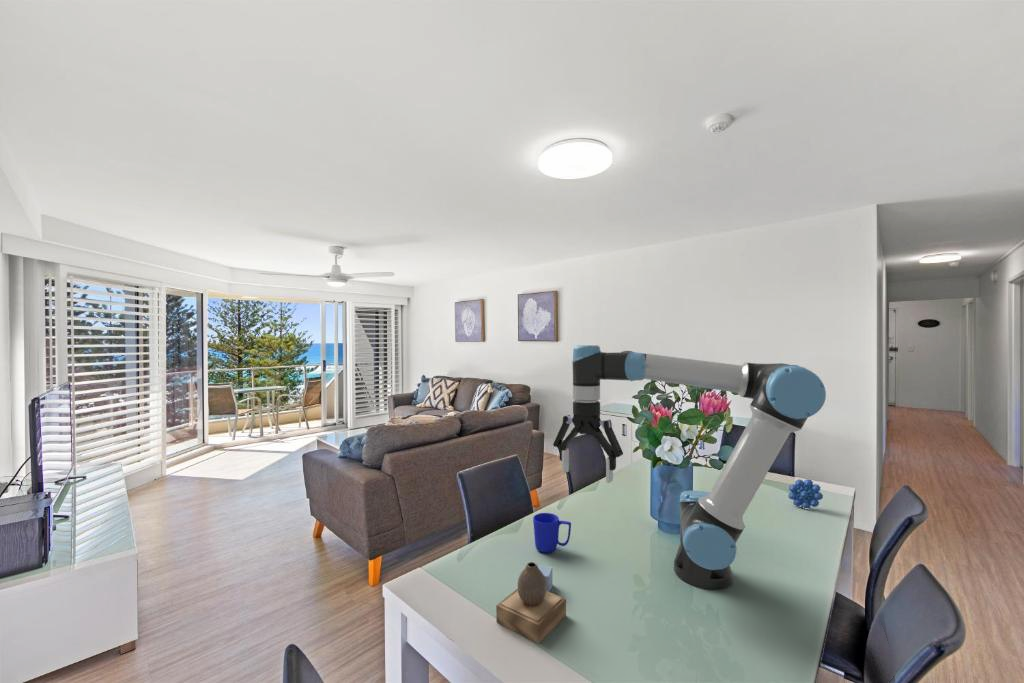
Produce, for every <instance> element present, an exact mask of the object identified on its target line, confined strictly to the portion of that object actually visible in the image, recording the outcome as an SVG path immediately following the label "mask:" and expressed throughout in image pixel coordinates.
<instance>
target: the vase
mask: <svg viewBox="0 0 1024 683" xmlns="http://www.w3.org/2000/svg"><path fill="white" fill-rule="evenodd" d="M537 565H538V564H537V563H536V562H533V561H530V562H528V563H526V565H525V567H524V569H523V570H522V571H521V573H520V574H519V577H518V579H517V589H518V594H519V596H520V599H521V600H522V601H523V602H524V603H525V604H526V605H529V606H536V605H538V604H539V603H541V602H542V600H543V599H544V597H545V594H546V580H545V577H544V575H543V573H542V572H541V571H540V569H539V568H538V566H537Z"/></svg>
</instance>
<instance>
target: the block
mask: <svg viewBox="0 0 1024 683" xmlns="http://www.w3.org/2000/svg"><path fill="white" fill-rule="evenodd" d="M537 566H538V568H539V569H540V571H541V572H542V573H543V575H544V577H545V580H546V591H548V592H550V593H551V590H552V587H553V585H554V584H553V566H549V565H548V566H547V565H543V564H542V565H540V564H537Z"/></svg>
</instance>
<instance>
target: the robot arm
mask: <svg viewBox="0 0 1024 683" xmlns="http://www.w3.org/2000/svg"><path fill="white" fill-rule="evenodd" d="M572 351H573V352H572V361H571V363H572V399H573V402H572V415H573V416H571V415H570V414H568V415H564V416H563V417H562V424H561V426H560V428H559V429H558V430H559V431H558V433H557V434H556V436H555V439H554V441H553V447H555V448H558V450H559V452H558V453H559V460H560V461H561V474H566V473H567V474H568V473H569V472H570V450H569V448H568V446H569V445H570V444H571V443H572V441H573V440H574V439H575V438H576V436H578V435H579V434H580V435H587V436H591V435H592V436H593V437H594V438H595V439H596V440H597V442H598V443H599V445H600V446H601V449H603V451H604V452H605V454H607V455H606V456H608V457H606V458H605V480H606V481H605V482H606V484H610V483H612V482H613V481H614V471H615V470H616V468H617V458H619V457H621V456H623V455H624V452H623V449H622V447H621V445H620V443H619V441H618V438H617V436H616V434H615V432H614V430H613V424H612V420H611V419H606V420H601V403H600V399H601V380H603V381H605V380H606V381H607V380H610V381H611V380H612V381H629V382H633V381H643V380H649V381H656V382H663V383H668V384H669V383H670V384H676V385H682V386H688V387H689V386H690V387H695V388H696V387H697V388H702V389H708V390H710V389H711V390H716V391H723V392H731V393H737V394H738V396H739V397H741V398H747V399H752V401H751V403H750V404H749V408H750V411H751V413H752V415H751V417H750V419H749V421H748V423H747V424H746V427H745V428H744V430H743V431H742V434H741V435H740V437H739V439H738V441H737V442H736V444H735V446H734V448H733V450H732V451H731V454H730V455H729V457H728V459H727V461H726V462H725V464H724V465H723V468H722V469H721V472H720V474H719V475H718V477H717V479H716V481H715V483H714V485H713V486H712V488H711V490H710V491H704V490H685V491H684V490H683V491H682V492H681V493H680V498H679V506H680V508H679V509H680V511H679V515H680V516H679V519H680V522H679V523H680V524H679V525H680V526H679V528H680V534H679V536H680V537H679V538H680V539H679V540H680V541H679V542H680V544H679V546H678V548H677V551H676V554H675V557H674V561H673V571H674V574H675V575H676V576H677V577H678V578H679V579H681V580H682V581H684V582H685V583H687V584H689V585H692V586H694V587H698V588H702V589H708V590H721V589H725V588H727V587H730V585H732V582H733V572H732V567H731V564H732V563H733V562H734V561H735V558H736V555H737V545H736V544H737V542H738V540H739V539H740V537H741V535H742V533H743V531H744V530H745V527H746V525H745V522H744V520H743V516H744V515H745V513H746V511H747V510H748V508H749V506H750V504H751V502H752V500H753V499H754V497H755V495H756V493H757V492H758V490H759V488H760V486H761V485H762V483H763V482H764V480H765V478H766V476H767V475H768V473H769V471H770V469H771V467H772V466H773V464H774V461H775V460H776V458H777V457H778V455H779V453H780V451H781V450H782V448H783V446H784V444H785V443H786V441H787V439H788V437H789V436H790V434H791V433H793V432H800V431H801V430H802V428H803V427H804V425H805V423H806V422H807V420H808V418H810V417H812V416H814V415H815V414H817V413H819V412H820V410H821V409H822V408H823V406H824V405H825V402H826V397H827V393H826V392H827V391H826V387H825V384H824V383H823V381H822V379H821V378H820V376H818V375H817V373H814V372H813V371H811V369H808V368H806V367H804V366H800V365H797V364H788V363H755V362H747V361H746V362H744V363H742V364H731V363H726V362H725V363H724V362H717V361H716V362H714V361H707V360H699V359H693V358H692V359H691V358H682V357H674V356H670V355H669V356H668V355H660V354H651V353H642V352H635V351H632V350H623V351H620V352H604V351H601V347H600V345H589V344H588V345H584V344H583V345H580V344H579V345H575V346H574V347H573V348H572ZM571 424H573V426H574V427H573V428H572V429H571V430H570V433H569V434H568V435H567V436H566V434H567V432H568V430H569V427H570V425H571ZM600 427H601V428H602V429H603V430H604V433H605V435H606V437H605V435H604V433H603V431H602V430H601V428H600ZM565 436H566V437H565Z"/></svg>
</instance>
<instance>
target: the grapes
mask: <svg viewBox="0 0 1024 683" xmlns="http://www.w3.org/2000/svg"><path fill="white" fill-rule="evenodd" d="M788 490H789V491H790V492H788V495H787V496H788V499H789V500H792V501H793V505H794V506H795V505H796V506H795V507H801V508H803V507H804V508H809V509H810V508H811V507H813V508H815V507H816V508H817V507H819V505H820V501H821V500H822V499H823V498H824V495H823V493H822V492H821V486H820V485H819V484H817V483H816V484H815V483H814V481H812V479H808V478H807V479H805V480H803V479H799V478H798V479H796V480H795V482H794V484H793V483H792V484H790V485H789V486H788ZM804 508H803V509H804Z"/></svg>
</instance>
